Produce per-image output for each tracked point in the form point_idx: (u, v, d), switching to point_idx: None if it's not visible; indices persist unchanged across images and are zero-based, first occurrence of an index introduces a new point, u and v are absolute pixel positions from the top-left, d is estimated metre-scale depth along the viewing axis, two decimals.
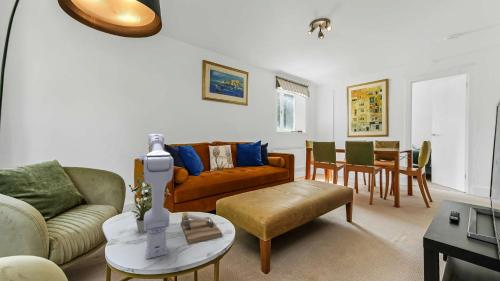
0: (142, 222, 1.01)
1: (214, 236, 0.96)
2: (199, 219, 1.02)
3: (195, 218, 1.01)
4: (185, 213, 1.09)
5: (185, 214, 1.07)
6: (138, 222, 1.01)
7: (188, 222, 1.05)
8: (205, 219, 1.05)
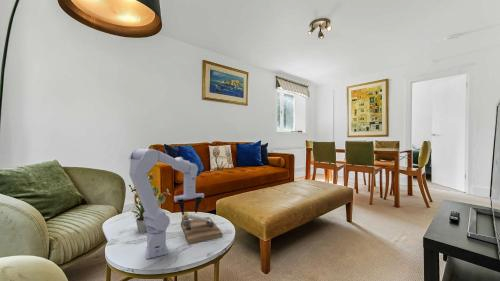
0: (142, 222, 1.01)
1: (214, 236, 0.96)
2: (199, 219, 1.02)
3: (195, 218, 1.01)
4: (185, 213, 1.09)
5: (185, 214, 1.07)
6: (138, 222, 1.01)
7: (188, 222, 1.05)
8: (205, 219, 1.05)
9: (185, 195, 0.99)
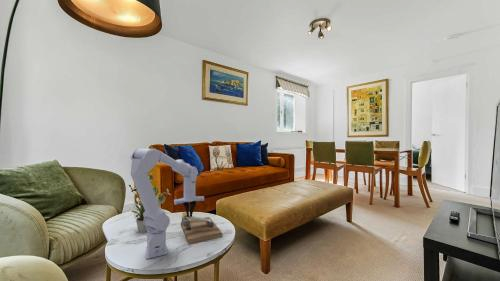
0: (142, 222, 1.01)
1: (214, 236, 0.96)
2: (199, 219, 1.02)
3: (195, 219, 1.01)
4: (185, 213, 1.09)
5: (185, 214, 1.07)
6: (138, 222, 1.01)
7: (188, 222, 1.05)
8: (205, 219, 1.05)
9: (185, 198, 0.99)
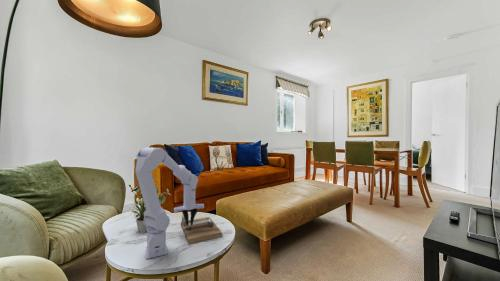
0: (142, 222, 1.01)
1: (214, 236, 0.96)
2: (198, 224, 1.02)
3: (194, 225, 1.01)
4: None
5: None
6: (138, 222, 1.01)
7: (188, 222, 1.05)
8: (204, 221, 1.05)
9: (185, 206, 0.99)
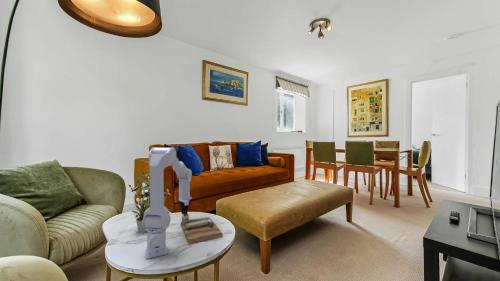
0: None
1: (214, 236, 0.96)
2: (198, 224, 1.02)
3: (194, 225, 1.01)
4: (185, 213, 1.08)
5: (185, 214, 1.07)
6: (138, 222, 1.01)
7: (188, 222, 1.05)
8: (204, 221, 1.05)
9: None
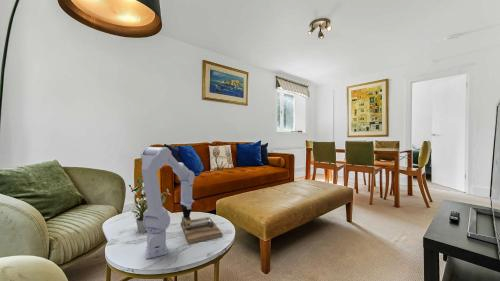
0: (142, 222, 1.01)
1: (214, 236, 0.96)
2: (198, 224, 1.02)
3: (194, 225, 1.01)
4: (187, 218, 1.02)
5: (187, 219, 1.01)
6: (138, 222, 1.01)
7: None
8: (204, 221, 1.05)
9: None
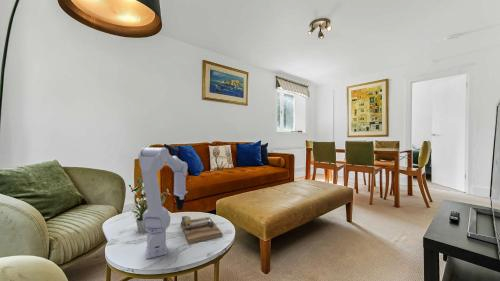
0: None
1: (214, 236, 0.96)
2: (198, 224, 1.02)
3: (194, 225, 1.01)
4: (187, 218, 1.02)
5: (187, 219, 1.01)
6: (138, 222, 1.01)
7: None
8: (204, 221, 1.05)
9: None
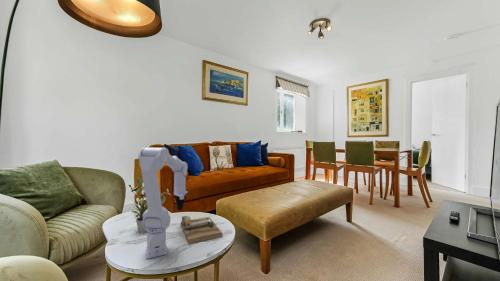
0: None
1: (214, 236, 0.96)
2: (198, 224, 1.02)
3: (194, 225, 1.01)
4: (187, 218, 1.02)
5: (187, 219, 1.01)
6: (138, 222, 1.01)
7: None
8: (204, 221, 1.05)
9: None
